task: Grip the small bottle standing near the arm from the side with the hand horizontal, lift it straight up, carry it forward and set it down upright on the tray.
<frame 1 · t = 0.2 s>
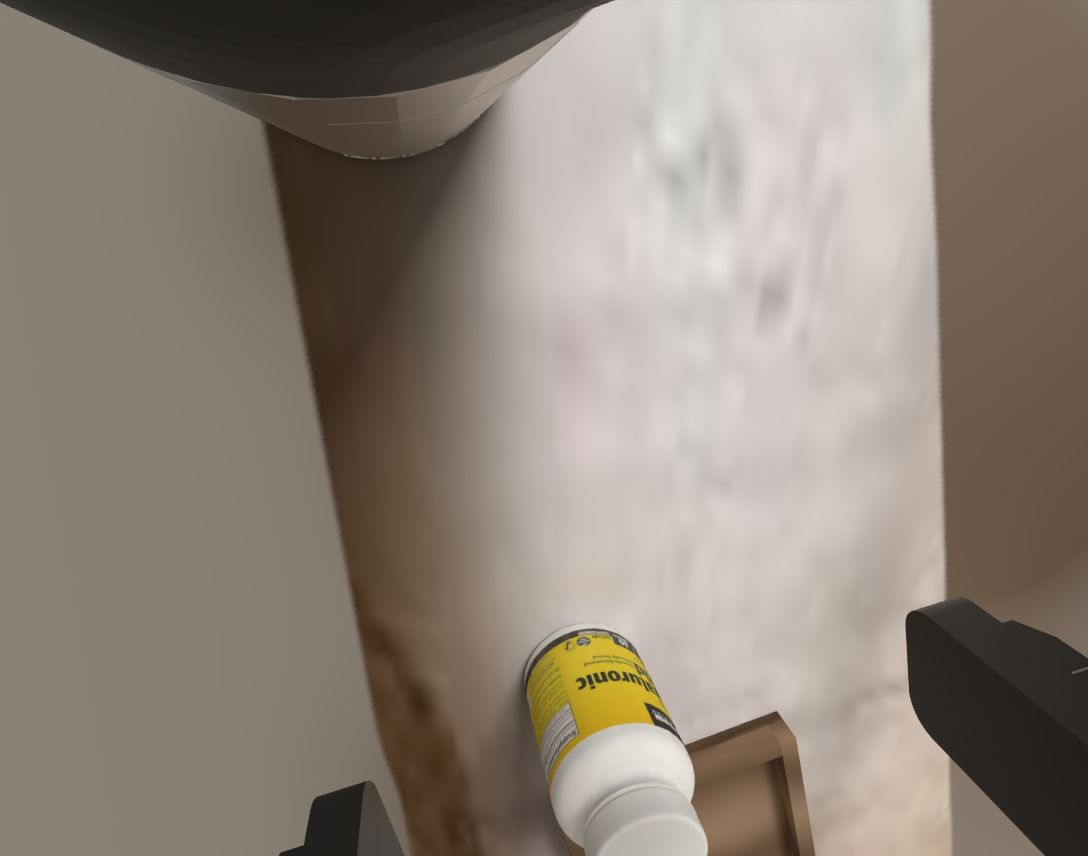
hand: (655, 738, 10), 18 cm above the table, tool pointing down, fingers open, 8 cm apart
supplement bottle: (578, 664, 31), on the table
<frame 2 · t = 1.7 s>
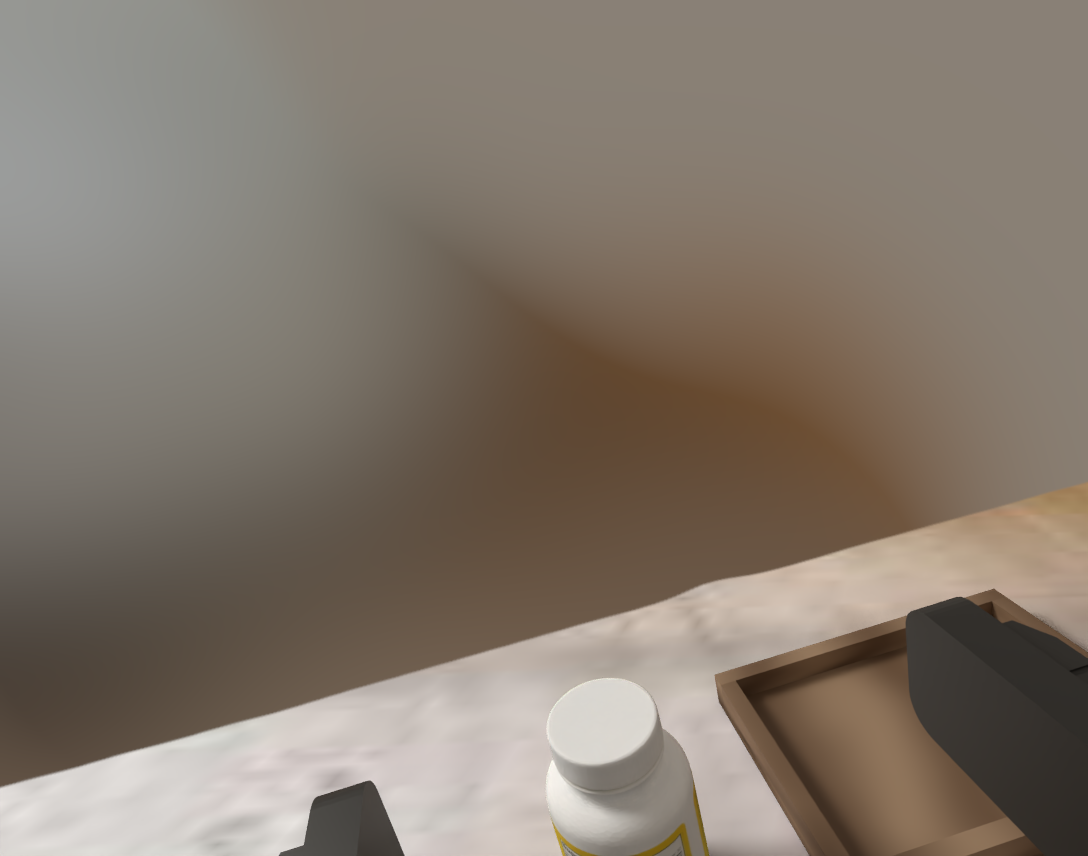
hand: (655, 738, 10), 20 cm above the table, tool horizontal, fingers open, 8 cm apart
tray: (937, 740, 31), on the table
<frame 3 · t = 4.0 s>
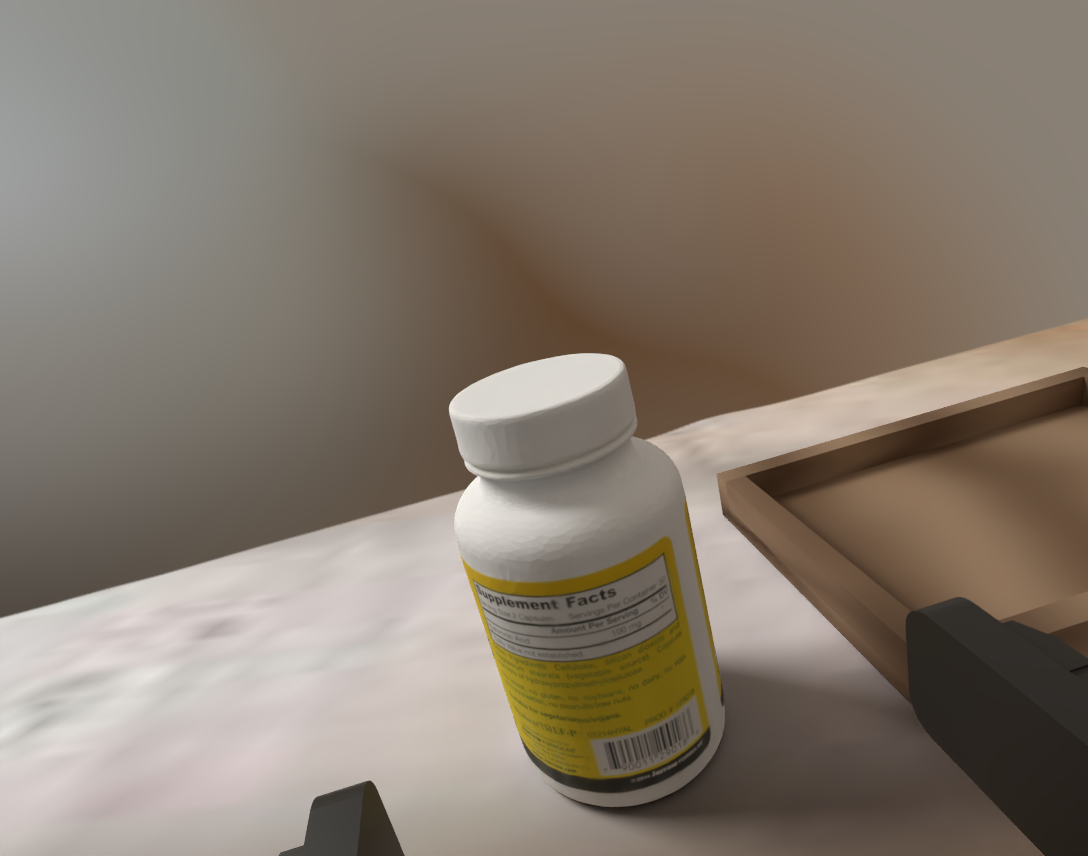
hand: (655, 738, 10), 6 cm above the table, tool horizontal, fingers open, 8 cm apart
supplement bottle: (624, 732, 18), on the table
tray: (1031, 523, 22), on the table
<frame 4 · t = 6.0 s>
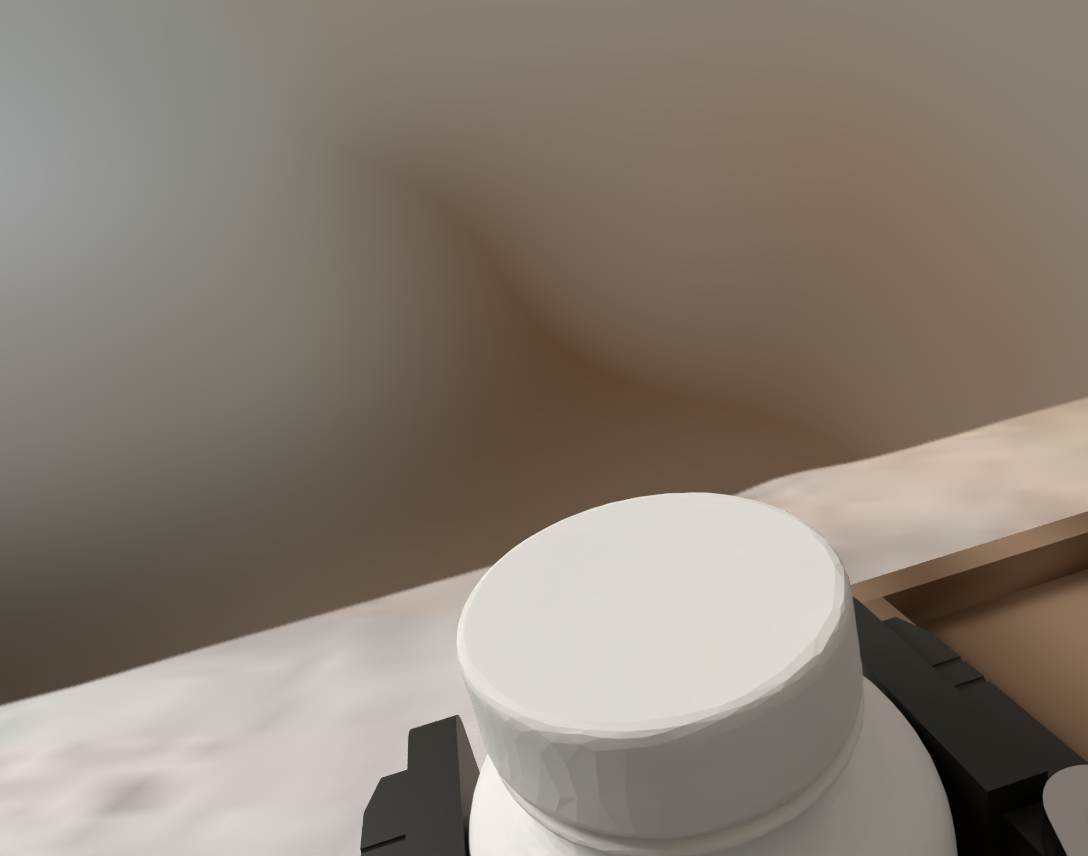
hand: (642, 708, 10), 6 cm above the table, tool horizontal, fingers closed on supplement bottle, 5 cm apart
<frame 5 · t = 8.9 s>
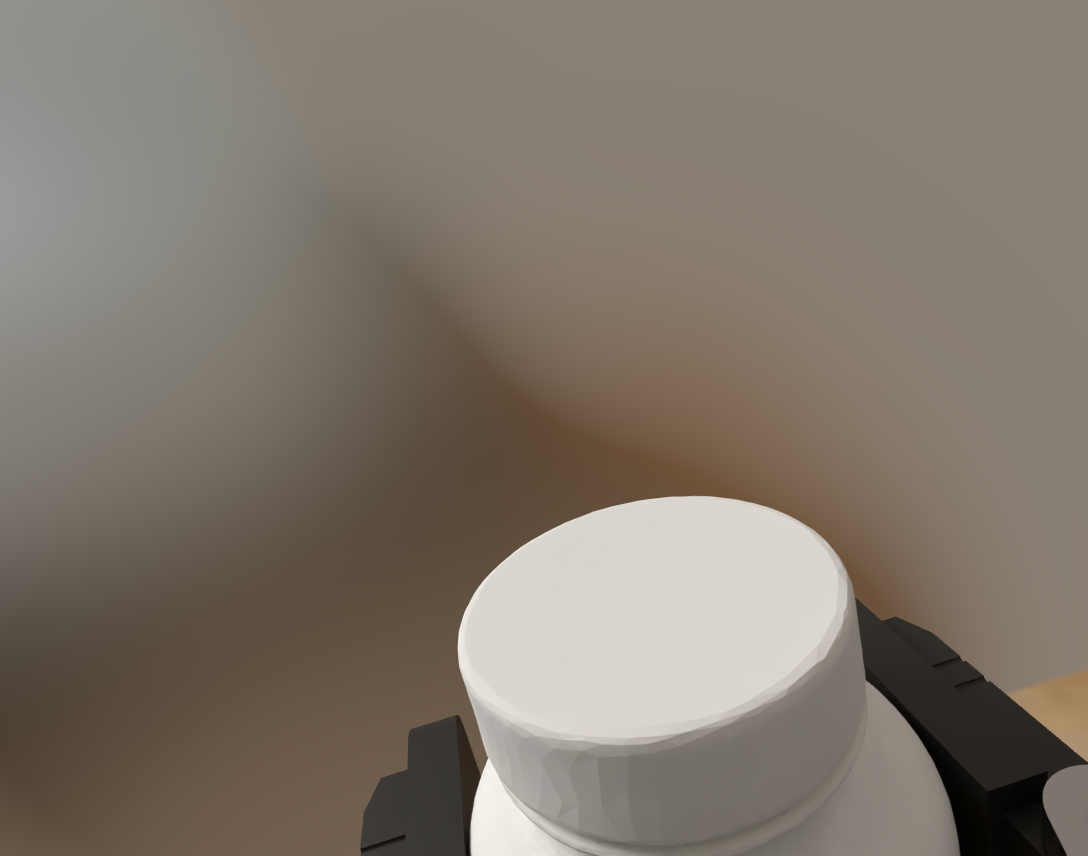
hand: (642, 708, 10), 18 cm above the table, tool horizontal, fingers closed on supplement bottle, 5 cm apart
when the fingers open (8 cm above the table, at t = 11.6 s): supplement bottle drops 1 cm, resting on tray.
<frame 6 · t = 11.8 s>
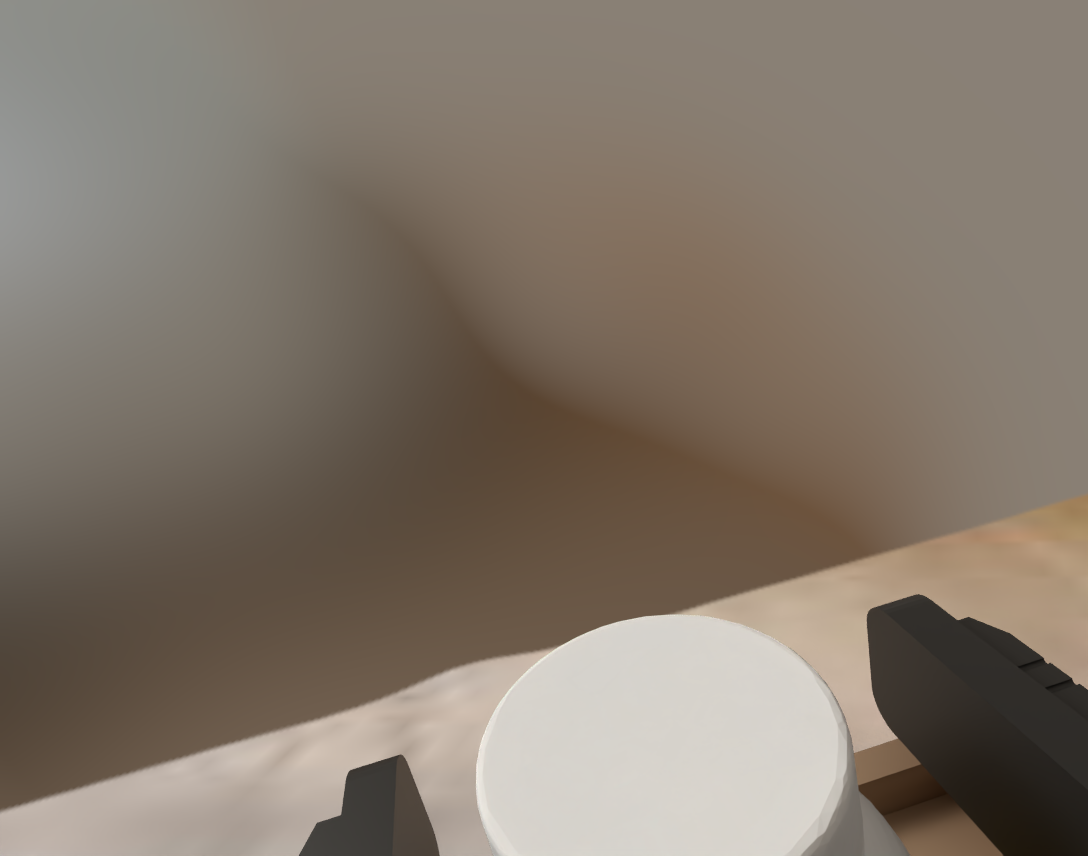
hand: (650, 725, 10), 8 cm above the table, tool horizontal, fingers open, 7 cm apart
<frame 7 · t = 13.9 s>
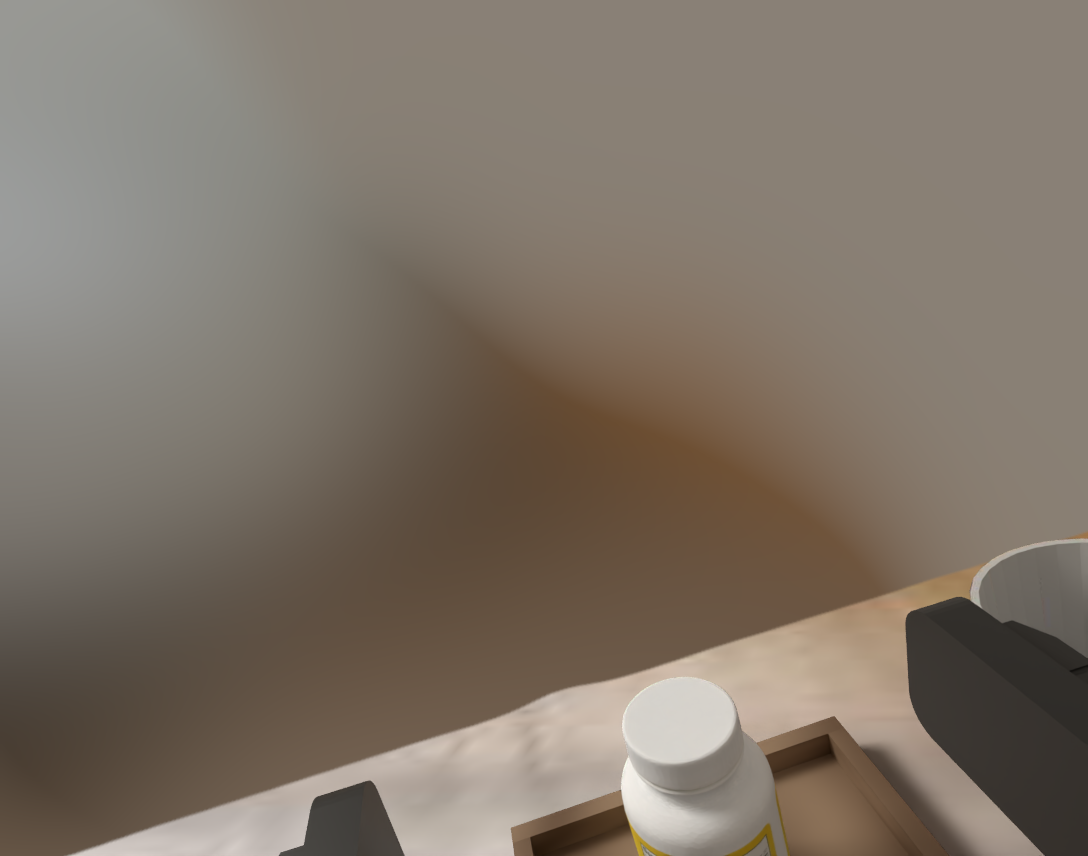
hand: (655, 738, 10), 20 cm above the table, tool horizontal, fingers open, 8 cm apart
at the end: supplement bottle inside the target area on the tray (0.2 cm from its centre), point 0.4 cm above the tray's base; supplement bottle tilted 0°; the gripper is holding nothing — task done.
